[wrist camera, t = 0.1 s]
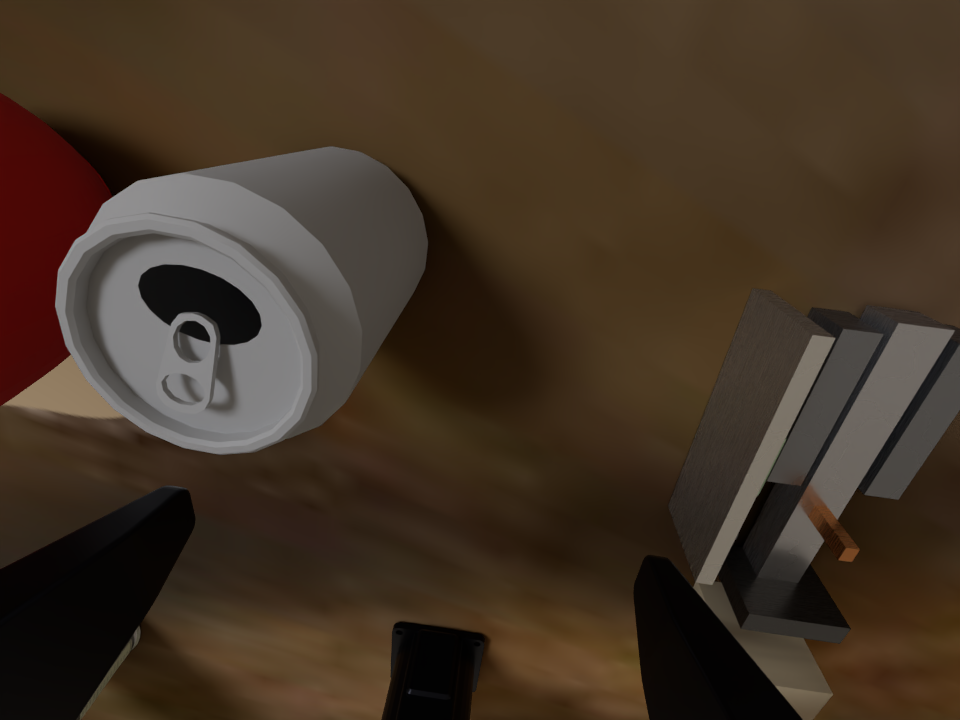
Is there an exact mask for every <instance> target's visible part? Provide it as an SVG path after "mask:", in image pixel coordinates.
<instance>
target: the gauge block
mask: <svg viewBox="0 0 960 720" xmlns="http://www.w3.org/2000/svg"><path fill="white" fill-rule="evenodd" d="M693 588H694V589H695V590H696V592H697V593H698V594H699V595H700V596H701V598H702V599H703V600H704V601H705V602H706V604H707V605H708V606H709V607H710V608H711V610H712V611H713V612H714V613H715V614H716V616H717V617H718V618H719V619H720V620H721V622H722V623H723V624H724V625H725V626H726V628H727V629H728V630H729V631H730V632H731V634H732V635H733V636H734V637H735V638H736V640H737V641H738V642H739V643H740V644H741V646H742V647H743V648H744V649H745V650H746V652H747V653H748V654H749V655H750V656H751V658H752V659H753V660H754V661H755V662H756V664H757V665H758V666H759V667H760V668H761V670H762V671H763V672H764V673H765V674H766V676H767V677H768V678H769V679H770V680H771V682H772V683H773V684H774V685H775V686H776V688H777V689H778V690H779V691H780V692H781V694H782V695H783V696H784V697H785V698H786V700H787V701H788V702H789V703H790V704H791V706H792V707H793V708H794V709H795V710H796V712H797V713H798V714H799V715H800V716H801V718H802V719H803V720H813V719H814V718H815V716H816V715H817V714H818V713H819V711H820V710H821V709H822V708H823V706H824V705H825V704H826V703H827V701H828V700H829V699H830V698H831V696H832V695H833V693H832V691H831V690H830V688H829V686H828V684H827V682H826V680H825V678H824V676H823V674H822V672H821V671H820V669H819V667H818V665H817V663H816V661H815V659H814V657H813V655H812V654H811V652H810V650H809V648H808V646H807V644H806V642H805V640H804V638H798V637H792V636H785V635H778V634H771V633H765V632H758V631H751V630H744V629H741V628H740V626H739V624H738V621H737V619H736V616H735V614H734V612H733V609H732V607H731V604H730V602H729V599H728V597H727V595H726V592H725V590H724V587H723V585H722V583H721V582H714V583H713V585H709V584H702V583H696V582H695V585H694V587H693Z"/></svg>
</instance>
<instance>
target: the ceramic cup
mask: <svg viewBox="0 0 960 720" xmlns="http://www.w3.org/2000/svg"><path fill="white" fill-rule="evenodd" d="M111 198H112V195H111V192H110V190H109V189H108V187H107V186H106V184H105V182H104V181H103V179H102V178H101V176H100V175H99V174H98V173H97V171H96V170H95V169H94V168H93V167H92V166H91V164H90V163H89V162H88V161H87V160H86V159H84V158H83V157H82V156H81V155H80V154H79V153H78V152H77V151H76V150H75V149H74V148H73V147H72V146H71V145H70V144H69V143H68V142H66V141H65V140H64V139H63V138H62V137H61V136H60V135H59V134H57V133H56V132H55V131H54V130H53V129H52V128H51V127H49V126H48V125H47V124H46V123H45V122H43V121H42V120H41V119H39V118H38V117H36V116H35V115H33V114H32V113H30V112H29V111H28V110H26V109H25V108H23V107H22V106H20V105H19V104H17V103H16V102H14V101H13V100H11V99H10V98H8V97H6V96H5V95H3V94H1V93H0V406H1V405H3V404H4V403H6V402H7V401H9V400H10V399H12V398H13V397H15V396H16V395H18V394H19V393H20V392H22V391H23V390H24V389H26V388H27V387H29V386H30V385H32V384H33V383H34V382H36V381H37V380H39V379H40V378H42V377H43V376H44V375H46V374H47V373H48V372H49V371H51V370H52V369H54V368H55V367H56V366H58V365H59V364H60V363H61V362H62V361H64V360H65V359H66V358H67V357H68V356H70V355H71V353H70V352H69V350H68V348H67V347H66V345H65V341H64V337H63V334H62V330H61V326H60V322H59V319H58V315H57V311H56V307H55V302H56V290H57V278H58V269H59V268H60V266H61V264H62V262H63V261H64V259H65V257H66V255H67V254H68V252H69V250H70V248H71V247H72V245H73V243H74V241H75V240H76V239H77V238H79V237H80V236H82V235H83V234H85V233H86V232H87V231H88V229H89V227H90V225H91V224H92V222H93V220H94V218H95V217H96V215H97V213H98V211H99V210H100V208H101V206H102V205H103V203H105V202H106V201H108V200H109V199H111Z"/></svg>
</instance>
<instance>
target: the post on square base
mask: <svg viewBox="0 0 960 720" xmlns="http://www.w3.org/2000/svg"><path fill="white" fill-rule="evenodd" d="M860 320H862V321H864V322H865V323H867V324H868V325H870V326H872V327H873V328H875V329H876V330H878V331H880V332H881V333H883V334H884V335H883V337H882V339H881V340H880V342H879V344H878V346H877V348H876V350H875V351H874V353H873V355H872V357H871V359H870V360H869V362H868V364H867V366H866V368H865V370H864V371H863V373H862V375H861V377H860V379H859V380H858V382H857V384H856V386H855V388H854V390H853V391H852V393H851V395H850V397H849V399H848V401H847V402H846V404H845V406H844V408H843V410H842V411H841V413H840V415H839V417H838V419H837V421H836V422H835V424H834V426H833V428H832V430H831V432H830V433H829V435H828V437H827V439H826V441H825V442H824V444H823V446H822V448H821V450H820V452H819V453H818V455H817V457H816V459H815V461H814V463H813V464H812V466H811V468H810V470H809V472H808V473H807V475H806V477H805V479H804V481H803V483H802V484H801V486H797V485H790V484H783V483H775V485H774V487H773V489H772V491H771V493H770V495H769V497H768V499H767V501H766V502H765V504H764V506H763V508H762V510H761V512H760V514H759V516H758V518H757V520H756V522H755V524H754V526H753V528H752V530H751V532H750V534H749V536H748V537H747V539H746V541H745V543H744V545H743V547H737V546H732V547H731V549H730V551H729V553H728V555H727V557H726V559H725V561H724V563H723V565H722V567H721V569H720V571H719V573H718V575H719V578H720V580H721V583H722V585H723V587H724V590H725V592H726V595H727V597H728V599H729V602H730V604H731V607H732V609H733V612H734V614H735V616H736V619H737V621H738V624H739V626H740V628H741V629H744V630H751V631H758V632H765V633H771V634H778V635H785V636H792V637H798V638H805V639H812V640H819V641H825V642H832V643H839V644H840V643H841V641H842V640H843V639H844V637H845V636H846V635H847V633H848V632H849V631H850V629H851V628H850V627H849V625H848V624H847V622H846V620H845V619H844V617H843V616H842V614H841V612H840V611H839V609H838V608H837V606H836V604H835V603H834V601H833V600H832V598H831V596H830V595H829V593H828V592H827V590H826V588H825V587H824V585H823V584H822V582H821V581H820V579H819V577H818V576H817V574H816V573H815V571H814V569H813V568H812V566H811V565H810V563H811V561H812V560H813V558H814V556H815V555H816V553H817V552H818V550H819V548H820V547H821V545H822V544H823V542H824V541H825V542H826V544H827V545H828V546H829V548H830V549H831V551H832V552H833V554H834V555H835V556H836V558H837V559H838V560H840V561H847V562H852V561H853V559H854V558H855V556H856V555H857V554H858V552H859V551H860V549H859V548H858V546H857V545H856V544H855V542H854V541H853V540H852V538H851V537H850V536H849V535H848V533H847V532H846V531H845V529H844V528H843V527H842V525H841V524H840V523H839V521H838V520H837V519H838V518H839V516H840V515H841V513H842V511H843V510H844V508H845V507H846V505H847V503H848V502H849V500H850V499H851V497H852V495H853V494H854V492H855V491H856V489H857V487H858V486H859V484H860V483H861V481H862V479H863V478H864V476H865V474H866V473H867V471H868V470H869V468H870V466H871V465H872V463H873V462H874V460H875V458H876V457H877V455H878V454H879V452H880V450H881V449H882V447H883V446H884V444H885V442H886V441H887V439H888V437H889V436H890V434H891V433H892V431H893V429H894V428H895V426H896V425H897V423H898V421H899V420H900V418H901V417H902V415H903V413H904V412H905V410H906V409H907V407H908V405H909V404H910V402H911V400H912V399H913V397H914V396H915V394H916V392H917V391H918V389H919V388H920V386H921V384H922V383H923V381H924V380H925V378H926V376H927V375H928V373H929V372H930V370H931V368H932V367H933V365H934V364H935V362H936V360H937V359H938V357H939V355H940V354H941V352H942V351H943V349H944V347H945V346H946V344H947V343H948V341H949V339H950V338H951V336H952V335H953V333H954V331H955V330H953V329H951V328H949V327H947V326H945V325H943V324H941V323H939V322H937V321H936V320H934V319H932V318H930V317H928V316H926V315H924V314H922V313H920V312H916V311H908V310H900V309H893V308H885V307H877V306H870V305H867V306H866V308H865V310H864V312H863V314H862V316H861V318H860Z"/></svg>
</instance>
